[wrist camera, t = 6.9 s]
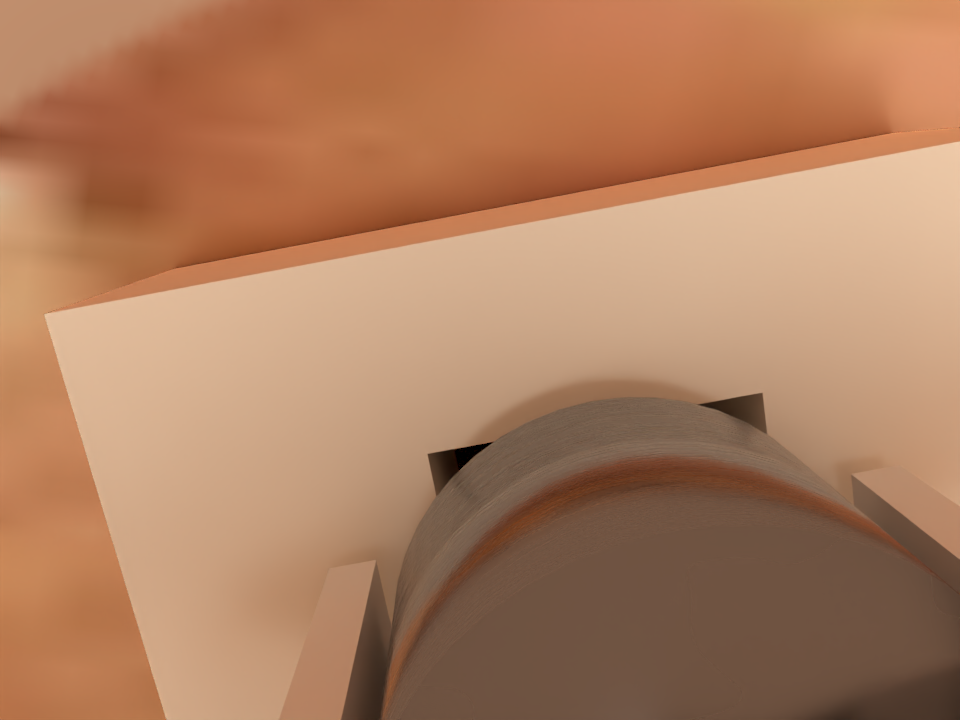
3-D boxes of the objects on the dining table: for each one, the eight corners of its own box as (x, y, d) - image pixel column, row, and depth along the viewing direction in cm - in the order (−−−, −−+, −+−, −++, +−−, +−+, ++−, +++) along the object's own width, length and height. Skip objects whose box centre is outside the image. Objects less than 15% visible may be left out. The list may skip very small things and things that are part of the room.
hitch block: (297, 738, 22) (236, 951, 16) (172, 269, 19) (43, 314, 13) (931, 626, 21) (1109, 801, 15) (893, 132, 19) (1091, 116, 13)
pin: (445, 664, 19) (438, 1181, 9) (380, 361, 18) (289, 602, 8) (756, 607, 19) (1076, 1067, 9) (717, 298, 18) (1051, 459, 8)
